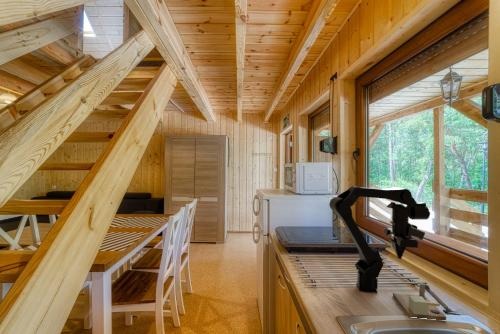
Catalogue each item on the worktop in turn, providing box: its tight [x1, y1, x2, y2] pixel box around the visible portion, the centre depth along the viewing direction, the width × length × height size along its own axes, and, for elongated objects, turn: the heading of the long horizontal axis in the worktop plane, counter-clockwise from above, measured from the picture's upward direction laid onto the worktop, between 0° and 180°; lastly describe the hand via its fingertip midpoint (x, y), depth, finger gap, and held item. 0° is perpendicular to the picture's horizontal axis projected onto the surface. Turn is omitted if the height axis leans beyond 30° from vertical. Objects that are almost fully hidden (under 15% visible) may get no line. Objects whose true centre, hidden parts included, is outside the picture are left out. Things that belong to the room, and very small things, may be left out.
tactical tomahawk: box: [424, 283, 461, 316], centre depth 96 cm, size 21×7×1 cm, turn 166°
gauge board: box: [392, 282, 447, 321], centre depth 90 cm, size 11×14×6 cm
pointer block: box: [409, 294, 441, 315], centre depth 85 cm, size 8×4×4 cm, turn 80°
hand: (399, 258), depth 105 cm, fingers closed
